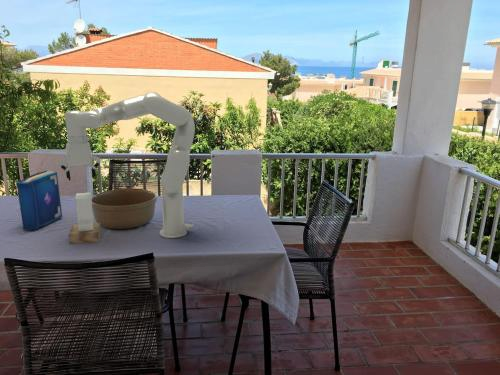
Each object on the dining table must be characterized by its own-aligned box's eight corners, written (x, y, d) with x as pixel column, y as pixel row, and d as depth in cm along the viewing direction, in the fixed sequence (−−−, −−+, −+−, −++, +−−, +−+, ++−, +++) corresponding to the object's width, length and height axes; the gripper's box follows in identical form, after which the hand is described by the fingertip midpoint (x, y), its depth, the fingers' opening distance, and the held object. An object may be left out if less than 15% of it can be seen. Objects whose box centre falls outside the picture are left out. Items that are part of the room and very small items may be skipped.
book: (33, 232, 190) (27, 180, 184) (20, 231, 192) (13, 179, 185) (63, 218, 211) (58, 170, 205) (51, 216, 212) (45, 169, 206)
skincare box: (93, 230, 182) (91, 197, 178) (77, 232, 180) (74, 198, 175) (93, 224, 190) (91, 192, 185) (78, 225, 187) (75, 192, 183)
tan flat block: (100, 232, 193) (99, 223, 192) (98, 242, 182) (97, 232, 181) (73, 235, 190) (72, 224, 189) (69, 244, 179) (68, 234, 178)
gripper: (98, 137, 182) (101, 175, 186) (55, 139, 174) (59, 178, 179) (99, 140, 175) (103, 178, 179) (55, 142, 168) (60, 182, 172)
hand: (81, 178), depth 179 cm, fingers open, 9 cm apart
